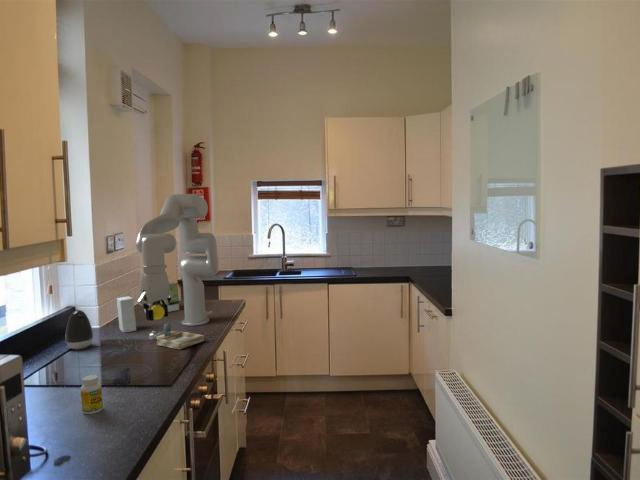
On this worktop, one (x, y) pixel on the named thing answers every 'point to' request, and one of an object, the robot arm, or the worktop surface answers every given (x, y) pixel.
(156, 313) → the lemon
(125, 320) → the skincare box
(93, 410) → the supplement bottle
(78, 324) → the grey dome gadget
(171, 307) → the tea box
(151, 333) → the hub
